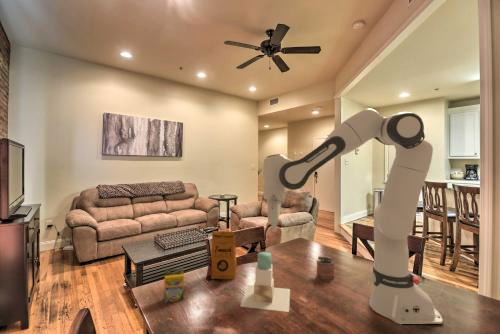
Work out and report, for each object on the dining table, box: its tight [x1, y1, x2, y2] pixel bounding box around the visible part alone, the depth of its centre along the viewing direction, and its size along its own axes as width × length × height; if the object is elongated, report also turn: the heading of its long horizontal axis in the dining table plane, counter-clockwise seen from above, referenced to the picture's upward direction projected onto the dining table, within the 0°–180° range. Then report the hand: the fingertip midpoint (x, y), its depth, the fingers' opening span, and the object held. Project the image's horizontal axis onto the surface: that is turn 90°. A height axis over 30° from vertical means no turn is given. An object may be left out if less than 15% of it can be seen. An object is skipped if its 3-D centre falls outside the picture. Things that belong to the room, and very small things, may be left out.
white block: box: [255, 263, 274, 286], centre depth 96 cm, size 6×6×6 cm
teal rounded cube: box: [256, 251, 272, 270], centre depth 96 cm, size 6×6×5 cm
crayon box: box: [163, 268, 185, 303], centre depth 96 cm, size 7×3×12 cm, turn 105°
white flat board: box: [239, 284, 291, 313], centre depth 96 cm, size 18×16×1 cm
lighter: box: [316, 255, 335, 280], centre depth 114 cm, size 8×3×10 cm, turn 84°
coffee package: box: [210, 230, 238, 281], centre depth 114 cm, size 10×12×22 cm
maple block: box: [253, 278, 275, 303], centre depth 96 cm, size 7×7×6 cm
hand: (275, 228), depth 98 cm, fingers open, 8 cm apart
